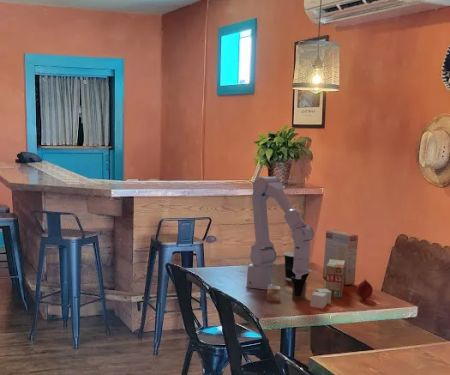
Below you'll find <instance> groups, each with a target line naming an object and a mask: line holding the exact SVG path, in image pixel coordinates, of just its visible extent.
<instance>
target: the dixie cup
mask: <svg viewBox="0 0 450 375" xmlns="http://www.w3.org/2000/svg"><path fill="white" fill-rule="evenodd" d="M283 255H284V271H285V272H284V274H285V280H286V281H289V282H292V280H291V277H292V276H293V277H295V275H294V272H293V271H292V269H293V262H294V251H286V252H284V253H283Z"/></svg>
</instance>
